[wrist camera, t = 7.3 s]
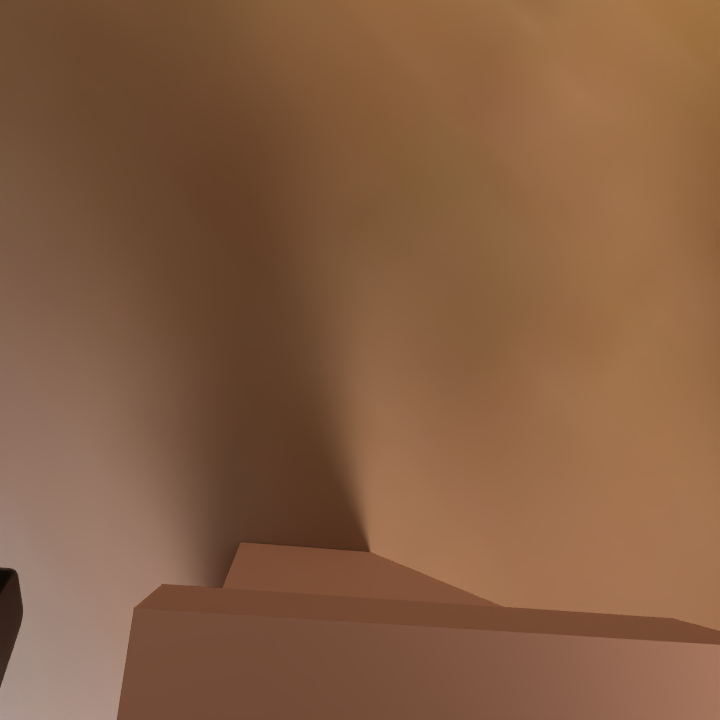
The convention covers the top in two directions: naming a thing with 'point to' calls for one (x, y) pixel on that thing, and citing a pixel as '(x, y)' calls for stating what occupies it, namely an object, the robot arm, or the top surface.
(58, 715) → the top surface
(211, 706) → the salmon brown tall block
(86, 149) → the top surface
